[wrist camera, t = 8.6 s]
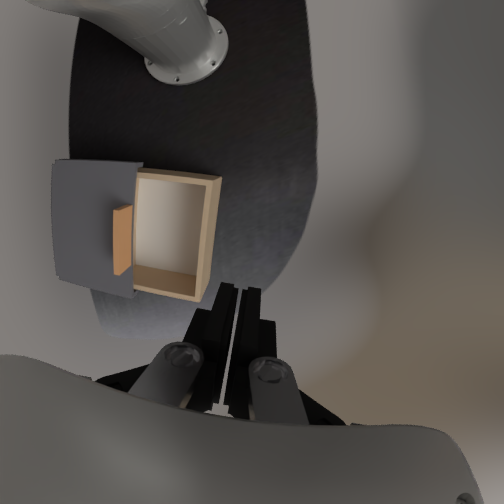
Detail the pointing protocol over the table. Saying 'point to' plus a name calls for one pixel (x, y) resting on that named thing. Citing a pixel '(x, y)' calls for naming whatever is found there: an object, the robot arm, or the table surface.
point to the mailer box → (174, 232)
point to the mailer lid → (94, 223)
